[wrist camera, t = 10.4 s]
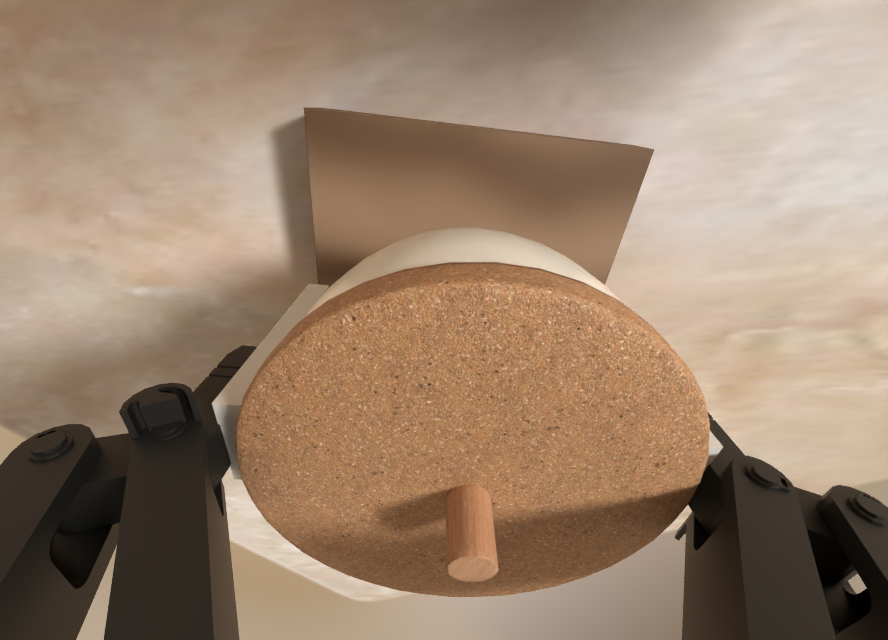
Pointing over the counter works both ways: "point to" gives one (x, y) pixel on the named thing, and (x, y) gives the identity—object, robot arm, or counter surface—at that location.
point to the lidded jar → (471, 421)
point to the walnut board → (463, 187)
